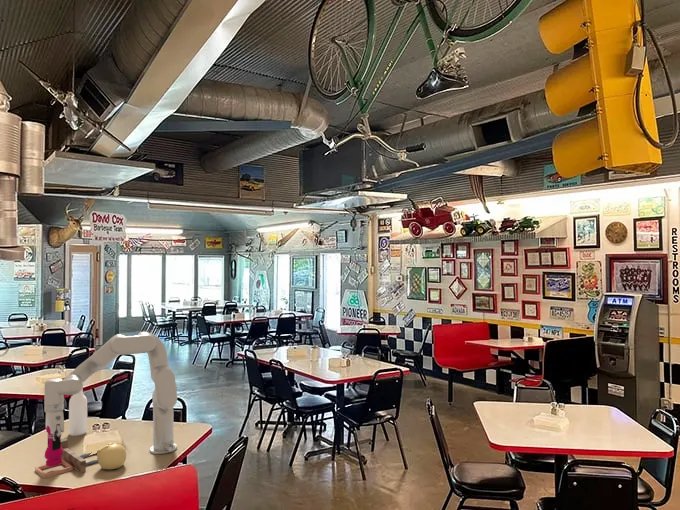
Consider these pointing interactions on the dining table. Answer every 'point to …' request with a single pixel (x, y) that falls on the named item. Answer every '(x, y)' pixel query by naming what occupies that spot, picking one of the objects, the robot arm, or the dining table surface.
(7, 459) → the dining table surface
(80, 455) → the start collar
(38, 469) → the collar
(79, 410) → the alcohol
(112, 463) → the pale yellow round fruit
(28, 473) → the dining table surface
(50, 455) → the pepper mill
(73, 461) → the door edge board
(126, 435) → the dining table surface
